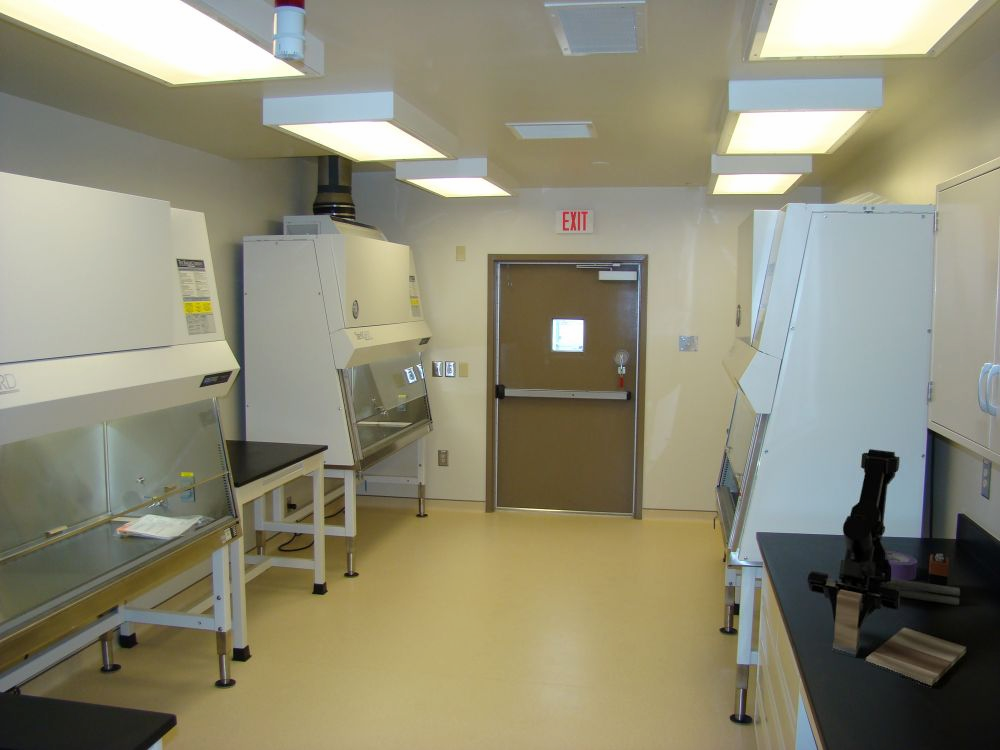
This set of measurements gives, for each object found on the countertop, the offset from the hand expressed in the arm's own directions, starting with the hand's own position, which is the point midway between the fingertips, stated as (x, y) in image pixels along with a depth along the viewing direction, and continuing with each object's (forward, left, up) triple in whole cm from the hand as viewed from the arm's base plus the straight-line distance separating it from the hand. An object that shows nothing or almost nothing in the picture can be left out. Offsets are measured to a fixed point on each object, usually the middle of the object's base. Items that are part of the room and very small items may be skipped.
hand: (846, 624), depth 167 cm
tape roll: (-59, -11, -7) cm, 61 cm away
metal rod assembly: (-43, -3, -7) cm, 44 cm away
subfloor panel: (-9, +12, -7) cm, 16 cm away
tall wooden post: (-1, 0, -7) cm, 7 cm away
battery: (-54, +2, -7) cm, 55 cm away
